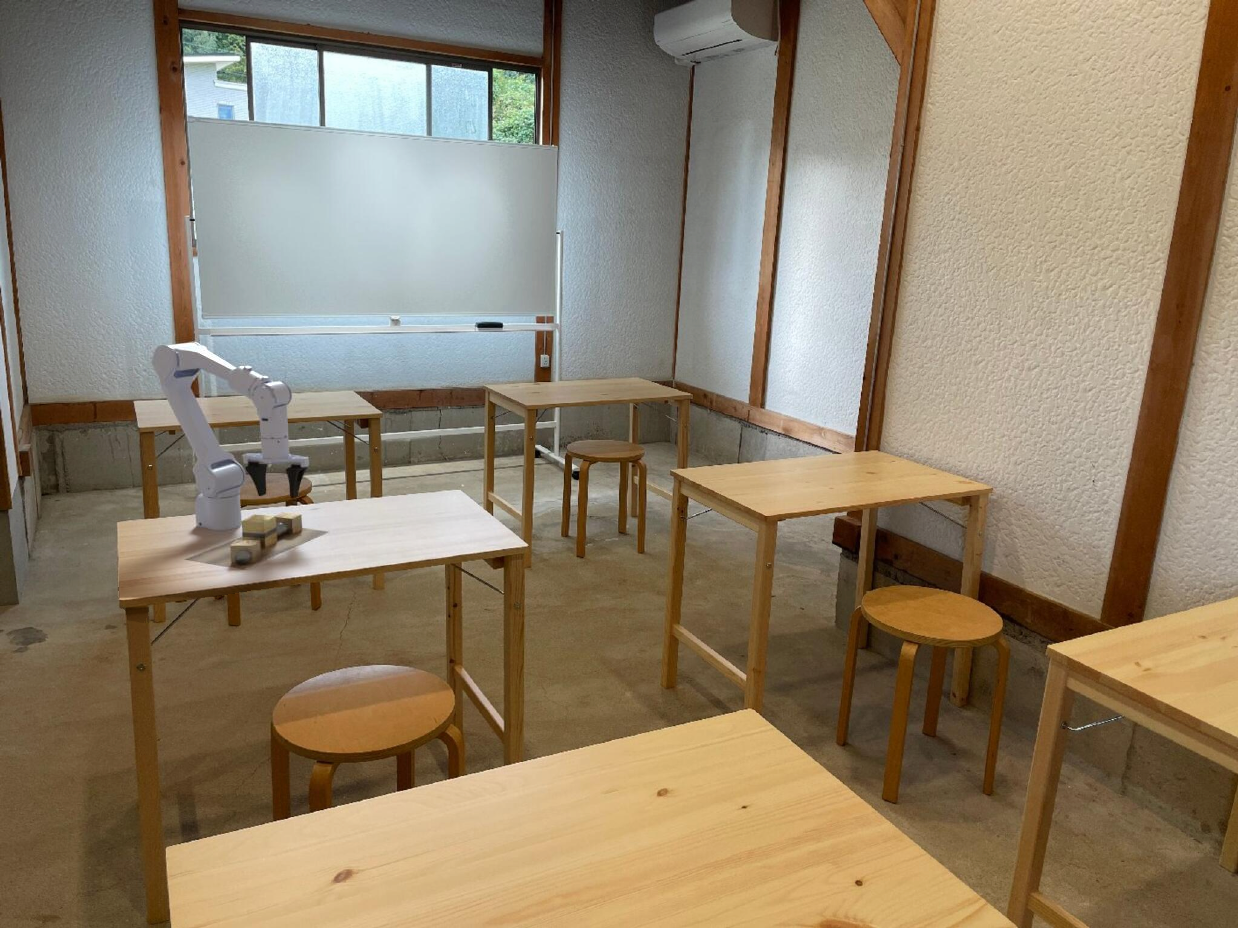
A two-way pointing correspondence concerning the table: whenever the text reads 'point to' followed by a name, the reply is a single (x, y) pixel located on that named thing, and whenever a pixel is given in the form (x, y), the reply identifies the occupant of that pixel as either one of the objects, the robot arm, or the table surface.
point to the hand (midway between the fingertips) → (278, 496)
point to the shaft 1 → (245, 551)
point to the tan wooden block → (260, 529)
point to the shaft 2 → (288, 523)
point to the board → (284, 543)
